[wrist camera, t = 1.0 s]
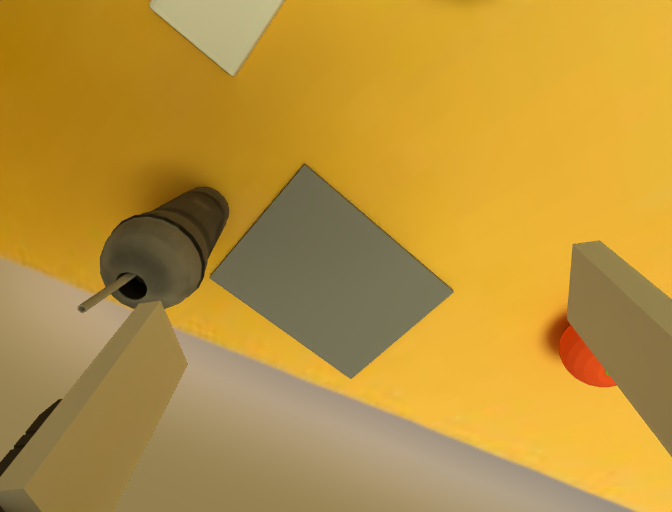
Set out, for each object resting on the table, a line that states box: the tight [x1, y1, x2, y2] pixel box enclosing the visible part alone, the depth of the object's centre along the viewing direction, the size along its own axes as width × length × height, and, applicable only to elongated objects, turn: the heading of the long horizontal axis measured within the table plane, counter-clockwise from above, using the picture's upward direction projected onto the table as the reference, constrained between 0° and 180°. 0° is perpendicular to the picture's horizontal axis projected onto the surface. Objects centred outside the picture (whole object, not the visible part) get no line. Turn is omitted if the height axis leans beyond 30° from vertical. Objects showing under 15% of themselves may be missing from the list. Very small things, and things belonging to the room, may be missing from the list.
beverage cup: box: [78, 187, 229, 313], centre depth 33 cm, size 7×7×20 cm
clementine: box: [559, 325, 616, 387], centre depth 43 cm, size 8×7×7 cm
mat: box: [210, 164, 453, 379], centre depth 45 cm, size 20×16×1 cm
